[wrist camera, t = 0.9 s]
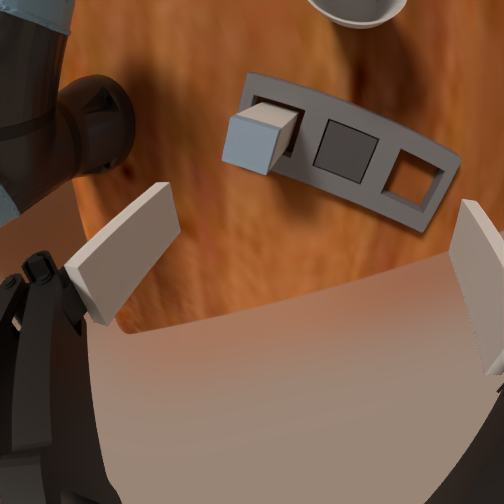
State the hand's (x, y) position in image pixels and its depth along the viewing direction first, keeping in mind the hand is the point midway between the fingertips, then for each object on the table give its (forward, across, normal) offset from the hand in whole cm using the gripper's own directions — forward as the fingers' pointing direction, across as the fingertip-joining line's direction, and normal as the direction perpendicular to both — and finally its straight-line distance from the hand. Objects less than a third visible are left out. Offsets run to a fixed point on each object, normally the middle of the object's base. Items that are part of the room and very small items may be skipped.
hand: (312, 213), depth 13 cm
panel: (+22, +2, -3) cm, 22 cm away
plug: (+22, -6, -1) cm, 23 cm away
